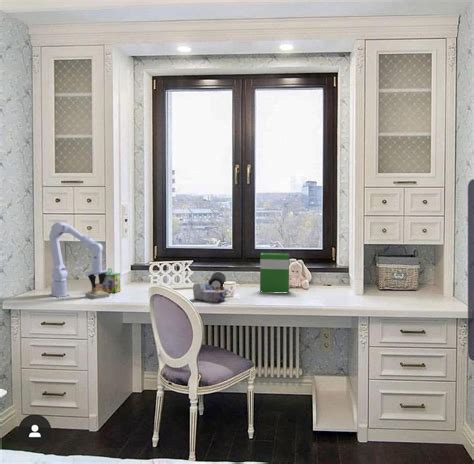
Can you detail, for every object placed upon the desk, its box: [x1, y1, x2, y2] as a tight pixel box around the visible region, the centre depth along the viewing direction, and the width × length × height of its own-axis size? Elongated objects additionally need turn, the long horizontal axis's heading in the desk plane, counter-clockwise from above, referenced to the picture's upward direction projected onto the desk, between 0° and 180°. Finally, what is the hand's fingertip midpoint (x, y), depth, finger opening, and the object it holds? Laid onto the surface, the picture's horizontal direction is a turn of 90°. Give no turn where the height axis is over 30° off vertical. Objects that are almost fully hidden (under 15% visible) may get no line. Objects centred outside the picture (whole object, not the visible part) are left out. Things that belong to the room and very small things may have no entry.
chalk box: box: [102, 267, 122, 294], centre depth 362 cm, size 9×9×15 cm
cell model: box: [192, 281, 230, 303], centre depth 338 cm, size 13×11×20 cm
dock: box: [85, 292, 110, 300], centre depth 346 cm, size 10×10×2 cm
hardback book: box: [259, 252, 290, 293], centre depth 365 cm, size 18×7×24 cm, turn 83°
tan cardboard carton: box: [89, 282, 104, 295], centre depth 346 cm, size 7×5×6 cm
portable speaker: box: [207, 271, 227, 289], centre depth 373 cm, size 26×10×10 cm, turn 178°
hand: (97, 286), depth 346 cm, fingers closed on tan cardboard carton, 4 cm apart
